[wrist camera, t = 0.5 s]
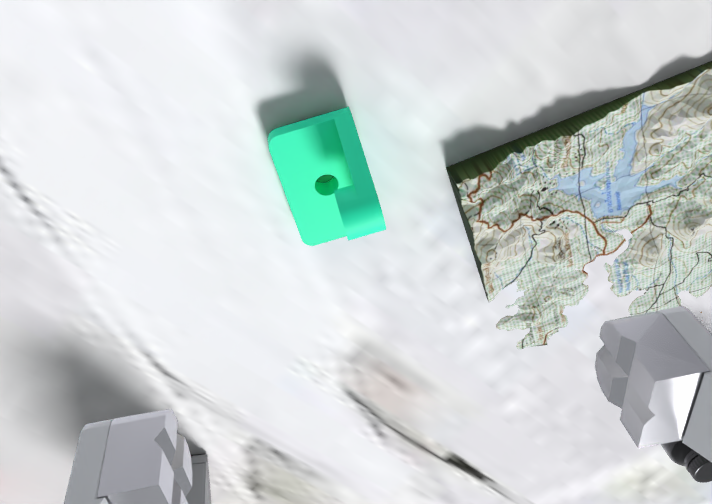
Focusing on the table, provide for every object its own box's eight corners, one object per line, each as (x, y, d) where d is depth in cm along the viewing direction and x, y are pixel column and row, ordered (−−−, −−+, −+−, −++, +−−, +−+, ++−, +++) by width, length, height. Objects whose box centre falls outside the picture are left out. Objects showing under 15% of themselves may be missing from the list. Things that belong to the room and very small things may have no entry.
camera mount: (264, 126, 56) (270, 183, 48) (346, 101, 56) (367, 154, 48) (302, 233, 63) (313, 298, 55) (376, 211, 63) (398, 273, 55)
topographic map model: (732, 305, 81) (758, 331, 77) (513, 386, 83) (528, 416, 79) (737, 46, 60) (774, 64, 56) (443, 164, 62) (458, 190, 58)
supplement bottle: (673, 372, 86) (729, 445, 76) (690, 396, 90) (746, 468, 80) (628, 399, 88) (678, 473, 78) (647, 421, 91) (696, 494, 82)
